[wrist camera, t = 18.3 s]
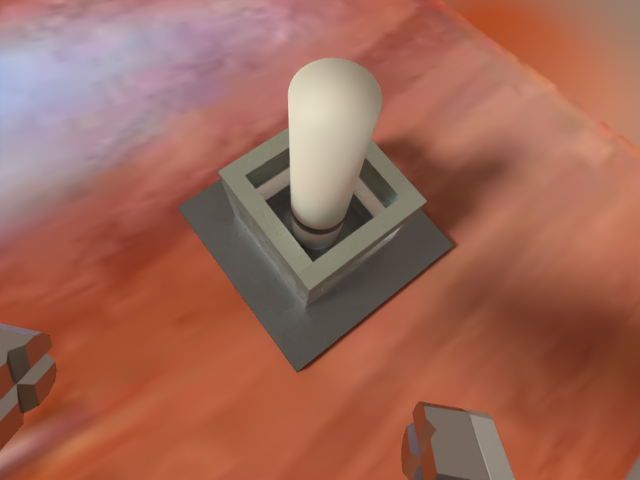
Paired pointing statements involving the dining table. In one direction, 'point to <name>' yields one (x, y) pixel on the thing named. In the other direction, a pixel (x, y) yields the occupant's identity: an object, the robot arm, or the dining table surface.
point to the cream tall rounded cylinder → (328, 144)
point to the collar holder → (309, 264)
